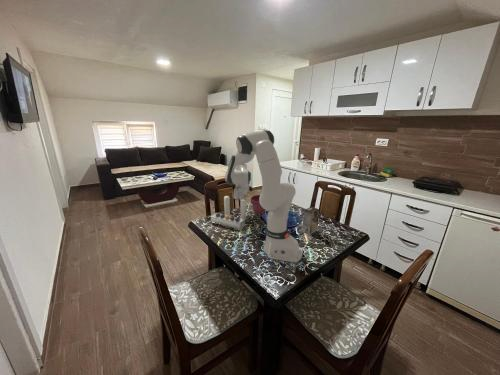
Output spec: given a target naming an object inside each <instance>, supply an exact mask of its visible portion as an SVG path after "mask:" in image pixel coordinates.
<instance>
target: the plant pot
mask: <svg viewBox="0 0 500 375" xmlns="http://www.w3.org/2000/svg"><path fill="white" fill-rule="evenodd" d="M260 195H261V194H256V195H252V196H251V197H250V204H251V205H252V209H253V210H252V211H253V214H255V215H257V214H259V215H258V216H261V215H260V214H262V213H264V212H265V213H266V211H267V210H265V209H264V208H262V206H261V205H260V202H259V198H260ZM265 213H264V214H265ZM262 215H263V214H262Z"/></svg>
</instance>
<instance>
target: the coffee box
mask: <svg viewBox="0 0 500 375" xmlns="http://www.w3.org/2000/svg"><path fill="white" fill-rule="evenodd" d="M319 217H320V208H317V207H313V206H309V207H308V208H306V209H303V216H302V224H301V225H302V226H301V232H302V233H304V234H307V235H308V236H310V235H312V234H314V233H315V232H317V231H318V224H319Z"/></svg>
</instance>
